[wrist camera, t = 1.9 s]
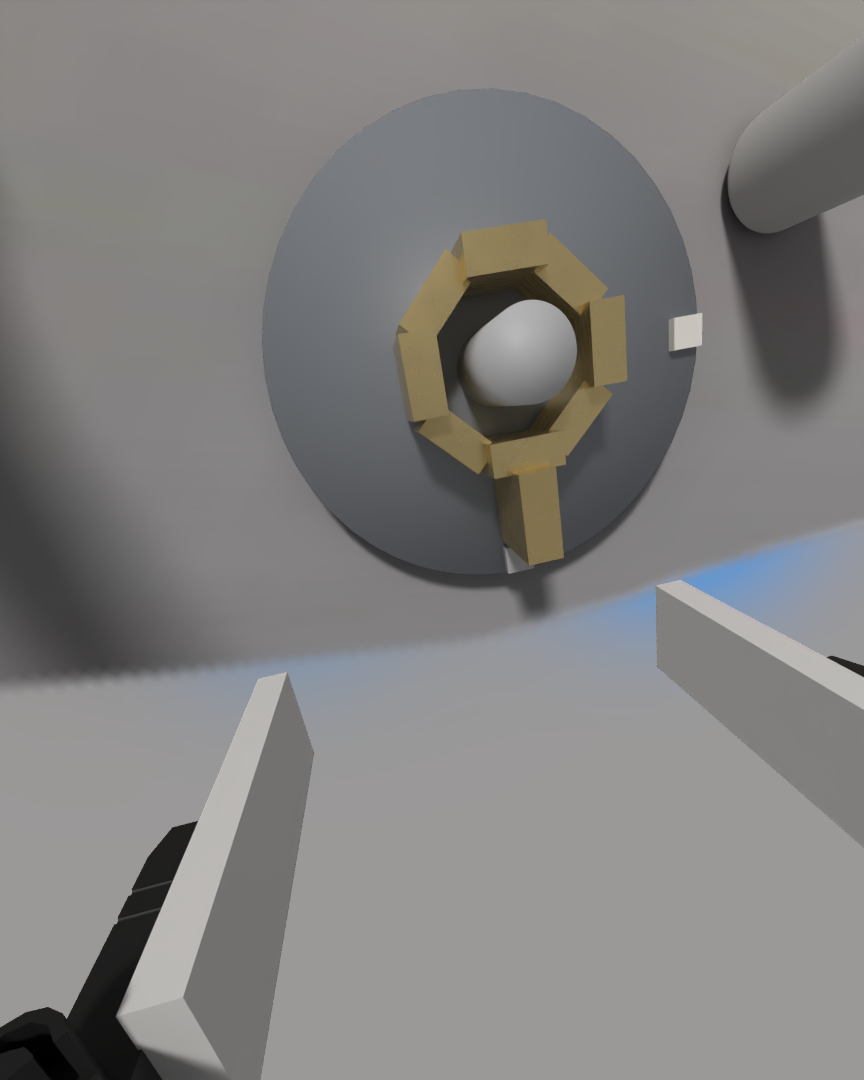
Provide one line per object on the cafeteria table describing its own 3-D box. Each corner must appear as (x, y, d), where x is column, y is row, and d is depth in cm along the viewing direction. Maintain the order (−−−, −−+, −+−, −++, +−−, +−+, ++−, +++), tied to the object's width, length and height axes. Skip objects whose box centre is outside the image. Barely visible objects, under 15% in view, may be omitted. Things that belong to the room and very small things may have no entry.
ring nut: (379, 273, 22) (381, 235, 18) (580, 240, 23) (634, 196, 19) (432, 554, 27) (445, 584, 23) (597, 518, 28) (643, 540, 23)
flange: (207, 149, 22) (119, 6, 14) (674, 87, 24) (817, -66, 16) (332, 599, 30) (319, 663, 22) (675, 523, 32) (771, 557, 24)
